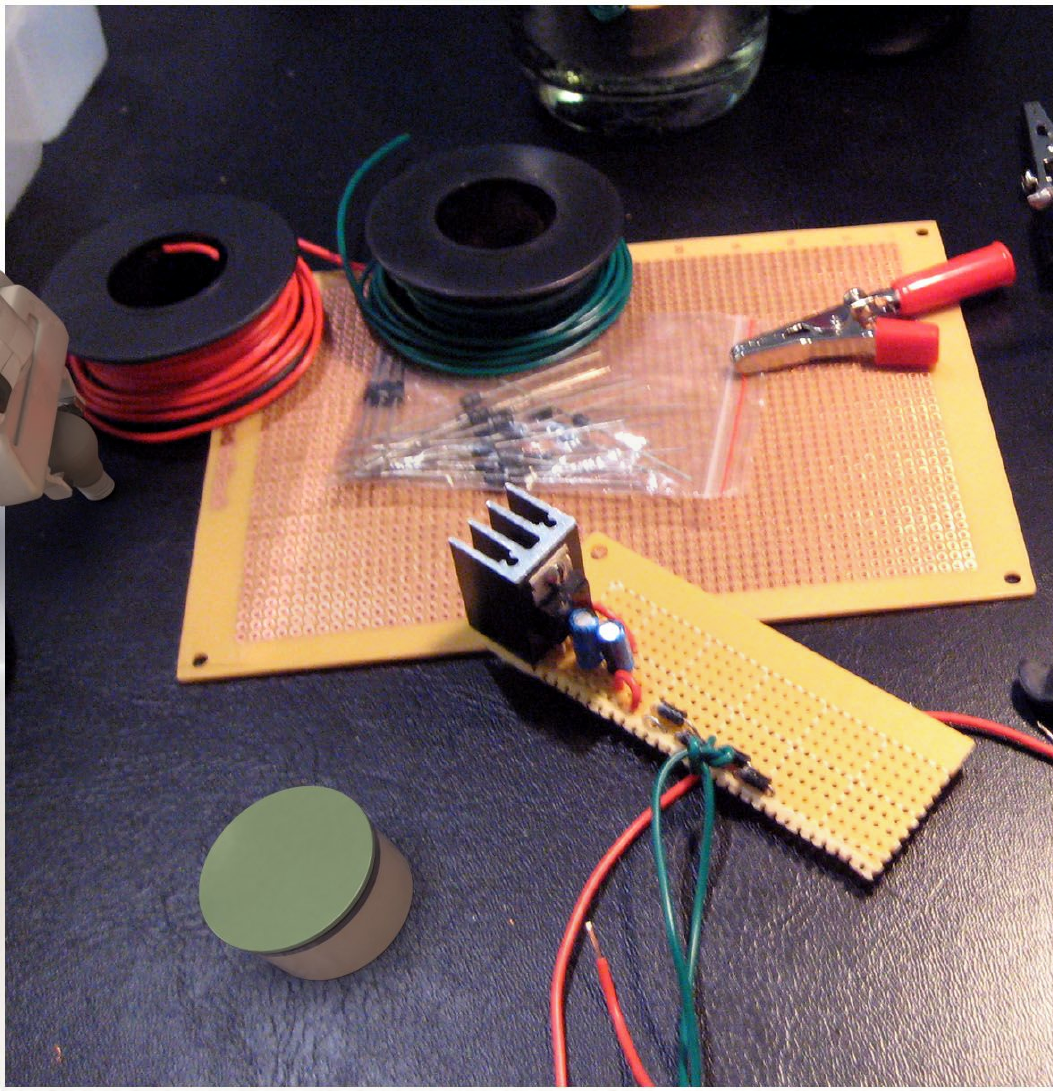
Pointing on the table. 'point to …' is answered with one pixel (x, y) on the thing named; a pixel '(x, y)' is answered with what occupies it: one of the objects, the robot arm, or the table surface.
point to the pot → (306, 884)
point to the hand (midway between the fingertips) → (71, 451)
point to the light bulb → (78, 456)
